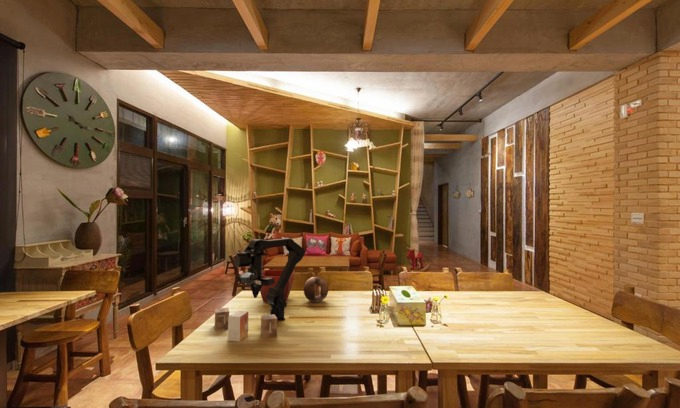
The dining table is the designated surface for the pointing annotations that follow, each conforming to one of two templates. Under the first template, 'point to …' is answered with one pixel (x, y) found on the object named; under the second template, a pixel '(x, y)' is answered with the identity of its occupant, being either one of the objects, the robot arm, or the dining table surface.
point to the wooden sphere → (315, 289)
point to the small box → (238, 326)
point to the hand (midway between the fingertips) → (255, 297)
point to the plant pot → (276, 276)
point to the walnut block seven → (221, 318)
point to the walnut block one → (269, 326)
